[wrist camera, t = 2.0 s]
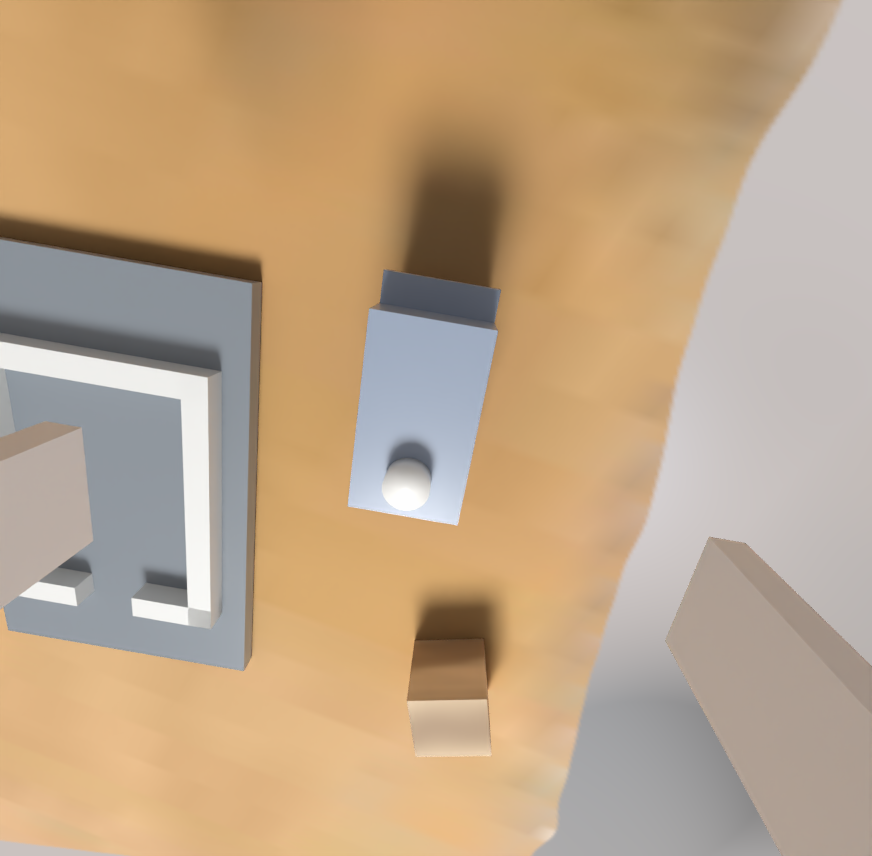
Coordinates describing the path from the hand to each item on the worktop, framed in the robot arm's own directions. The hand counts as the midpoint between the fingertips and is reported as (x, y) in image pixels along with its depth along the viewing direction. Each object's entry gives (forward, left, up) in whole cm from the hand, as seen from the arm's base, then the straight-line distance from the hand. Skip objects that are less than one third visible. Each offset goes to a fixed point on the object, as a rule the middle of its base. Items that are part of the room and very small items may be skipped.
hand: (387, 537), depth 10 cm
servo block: (0, 0, -13) cm, 13 cm away
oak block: (+17, +4, -13) cm, 21 cm away
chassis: (+8, -15, -12) cm, 21 cm away
